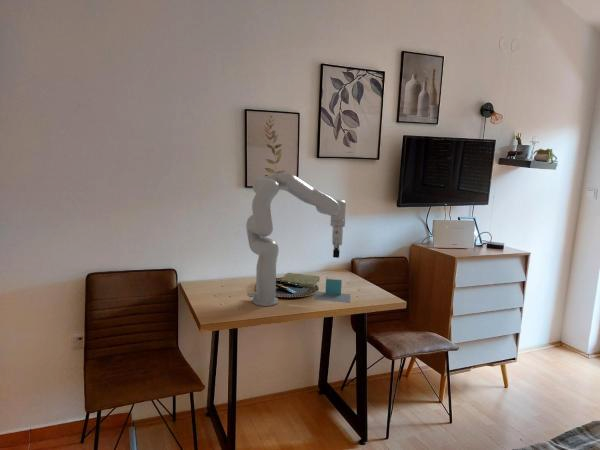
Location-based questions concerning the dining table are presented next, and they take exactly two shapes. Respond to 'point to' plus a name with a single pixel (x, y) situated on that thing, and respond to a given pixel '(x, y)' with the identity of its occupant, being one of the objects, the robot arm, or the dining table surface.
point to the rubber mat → (332, 297)
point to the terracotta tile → (333, 286)
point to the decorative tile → (301, 279)
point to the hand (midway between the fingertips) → (336, 257)
